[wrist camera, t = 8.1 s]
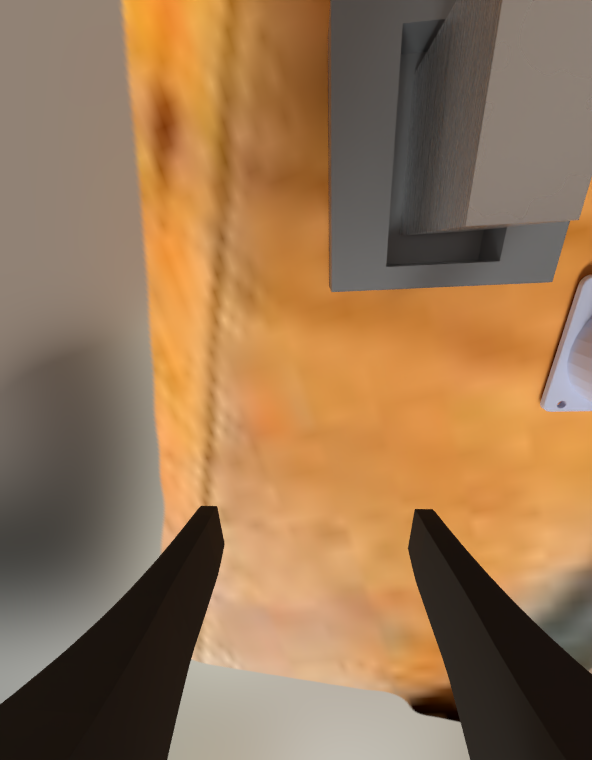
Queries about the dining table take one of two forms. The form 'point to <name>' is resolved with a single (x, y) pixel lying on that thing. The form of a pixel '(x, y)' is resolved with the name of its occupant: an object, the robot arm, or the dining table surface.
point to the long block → (501, 118)
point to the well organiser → (401, 165)
